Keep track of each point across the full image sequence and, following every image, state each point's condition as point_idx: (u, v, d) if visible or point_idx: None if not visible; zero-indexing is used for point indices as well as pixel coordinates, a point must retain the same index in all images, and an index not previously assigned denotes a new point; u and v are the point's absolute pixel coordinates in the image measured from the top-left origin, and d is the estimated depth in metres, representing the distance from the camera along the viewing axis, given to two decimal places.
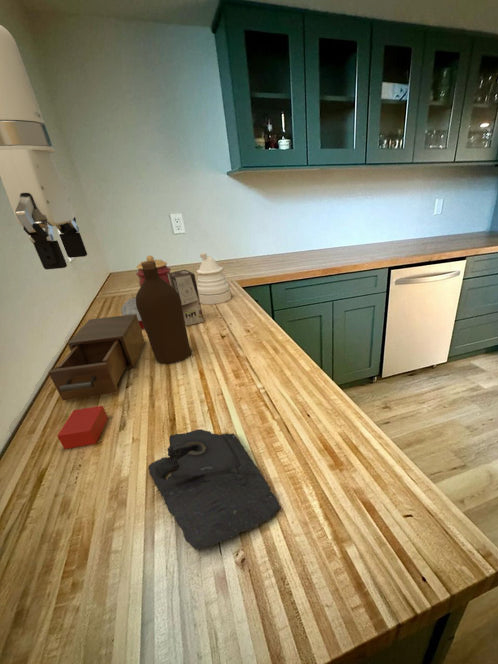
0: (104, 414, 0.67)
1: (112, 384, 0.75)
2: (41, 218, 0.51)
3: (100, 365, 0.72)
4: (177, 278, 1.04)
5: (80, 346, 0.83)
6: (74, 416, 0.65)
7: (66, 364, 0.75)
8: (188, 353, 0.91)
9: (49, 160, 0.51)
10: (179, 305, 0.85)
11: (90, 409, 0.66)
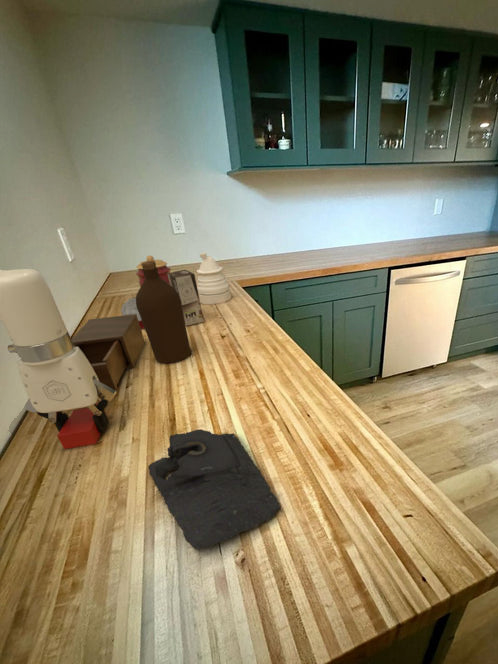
0: None
1: (112, 384, 0.75)
2: None
3: (100, 365, 0.72)
4: (177, 278, 1.04)
5: (80, 346, 0.83)
6: (74, 416, 0.65)
7: None
8: (188, 353, 0.91)
9: None
10: (179, 305, 0.85)
11: None
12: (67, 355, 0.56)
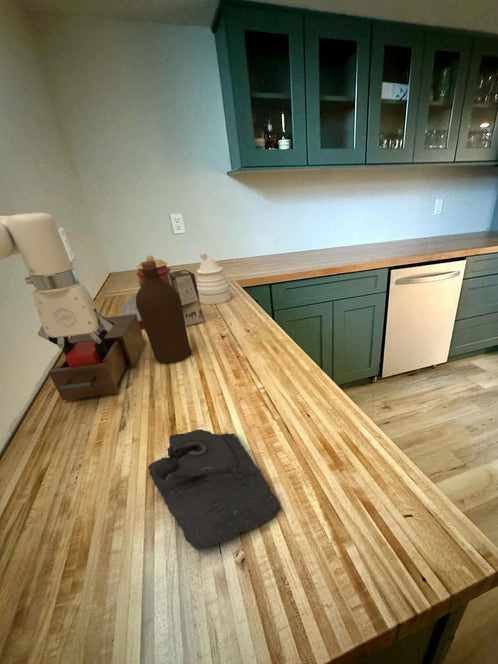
0: None
1: (112, 384, 0.75)
2: None
3: (100, 365, 0.72)
4: (177, 278, 1.04)
5: None
6: (79, 345, 0.77)
7: (66, 364, 0.75)
8: (188, 353, 0.91)
9: None
10: (179, 305, 0.85)
11: (92, 341, 0.79)
12: (73, 286, 0.68)
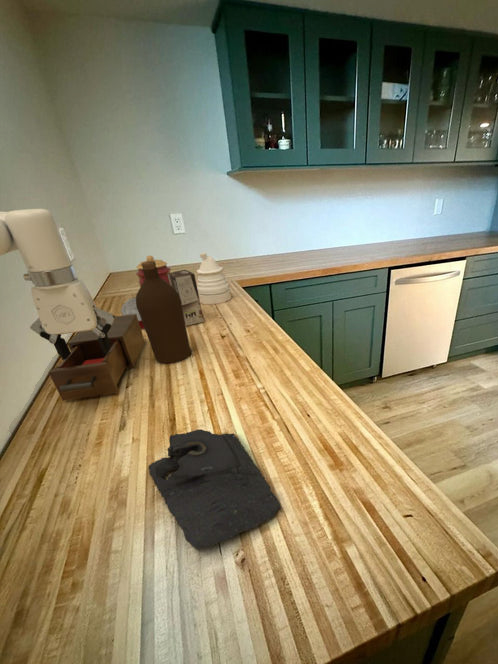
0: None
1: (112, 384, 0.75)
2: None
3: (100, 365, 0.72)
4: (177, 278, 1.04)
5: (80, 346, 0.83)
6: (86, 364, 0.79)
7: (66, 364, 0.75)
8: (188, 353, 0.91)
9: None
10: (179, 305, 0.85)
11: (99, 359, 0.81)
12: (72, 283, 0.68)
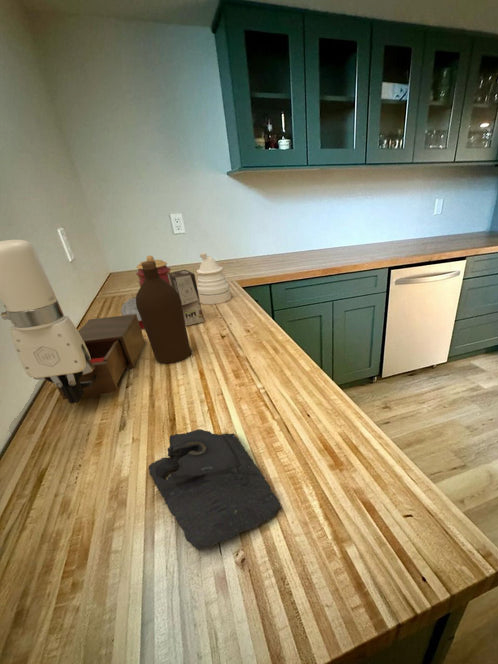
0: None
1: (112, 383, 0.75)
2: None
3: (101, 364, 0.72)
4: (177, 278, 1.04)
5: None
6: None
7: None
8: (188, 353, 0.91)
9: None
10: (179, 305, 0.85)
11: (99, 359, 0.81)
12: (56, 322, 0.60)
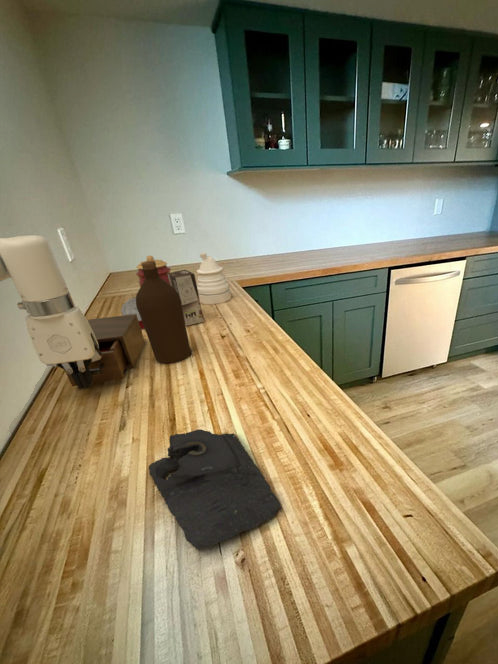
0: None
1: (119, 371, 0.80)
2: None
3: (108, 353, 0.77)
4: (177, 278, 1.04)
5: None
6: None
7: None
8: (188, 353, 0.91)
9: None
10: (179, 305, 0.85)
11: (106, 349, 0.86)
12: (68, 312, 0.64)
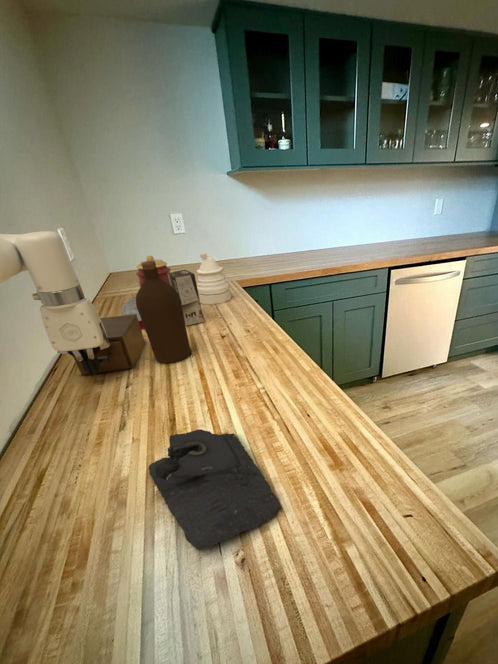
0: None
1: (125, 360, 0.85)
2: None
3: (115, 342, 0.82)
4: (177, 278, 1.04)
5: None
6: None
7: None
8: (188, 353, 0.91)
9: None
10: (179, 305, 0.85)
11: (112, 340, 0.91)
12: (79, 302, 0.69)
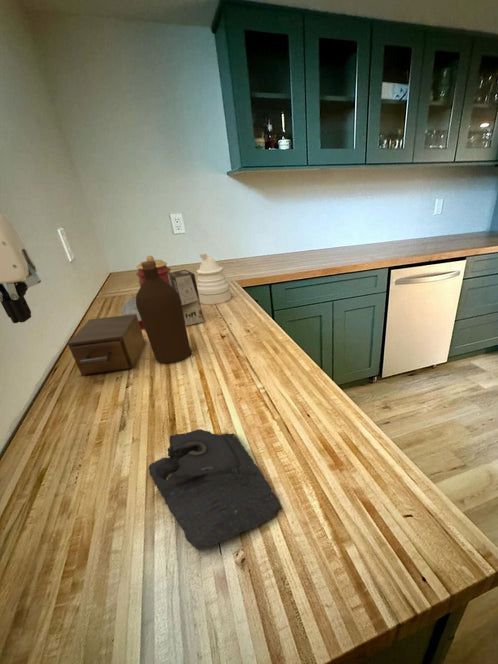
0: None
1: (125, 360, 0.85)
2: None
3: (115, 342, 0.82)
4: (177, 278, 1.04)
5: None
6: None
7: None
8: (188, 353, 0.91)
9: None
10: (179, 305, 0.85)
11: (112, 340, 0.91)
12: None
